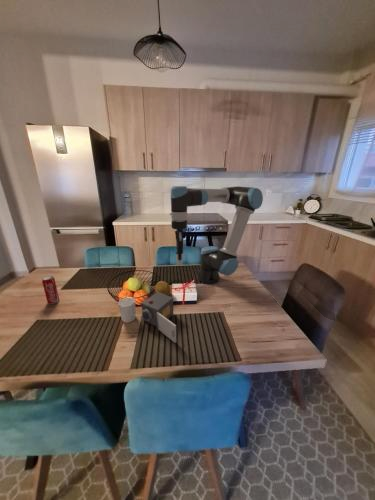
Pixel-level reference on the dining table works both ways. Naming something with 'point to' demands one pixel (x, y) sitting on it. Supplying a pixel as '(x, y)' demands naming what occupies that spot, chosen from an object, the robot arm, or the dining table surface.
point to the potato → (162, 288)
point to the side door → (166, 327)
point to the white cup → (127, 309)
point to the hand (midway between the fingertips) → (179, 264)
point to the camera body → (157, 307)
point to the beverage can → (50, 289)
